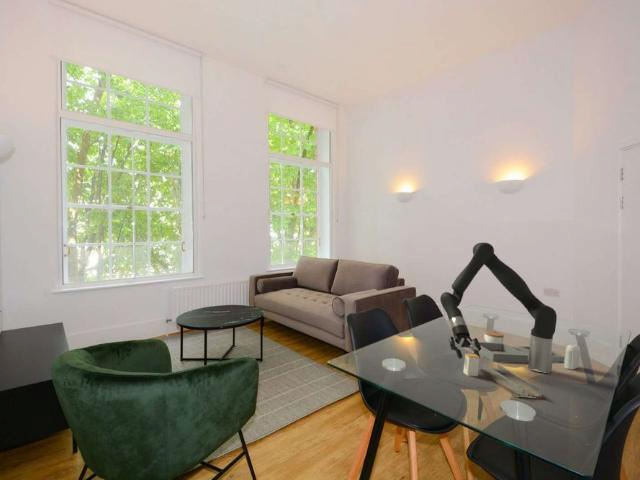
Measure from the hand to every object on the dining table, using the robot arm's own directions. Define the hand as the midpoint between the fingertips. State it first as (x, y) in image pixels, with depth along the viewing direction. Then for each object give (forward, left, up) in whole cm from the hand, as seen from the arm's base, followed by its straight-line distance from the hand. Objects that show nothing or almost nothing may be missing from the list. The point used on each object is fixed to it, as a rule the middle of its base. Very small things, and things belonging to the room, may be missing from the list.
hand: (469, 358), depth 155 cm
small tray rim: (-62, -29, -7) cm, 69 cm away
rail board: (-13, +11, -7) cm, 18 cm away
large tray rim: (-34, -27, -7) cm, 44 cm away
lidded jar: (-43, -45, -7) cm, 63 cm away
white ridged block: (-66, -13, -7) cm, 68 cm away
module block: (0, +2, -7) cm, 7 cm away
